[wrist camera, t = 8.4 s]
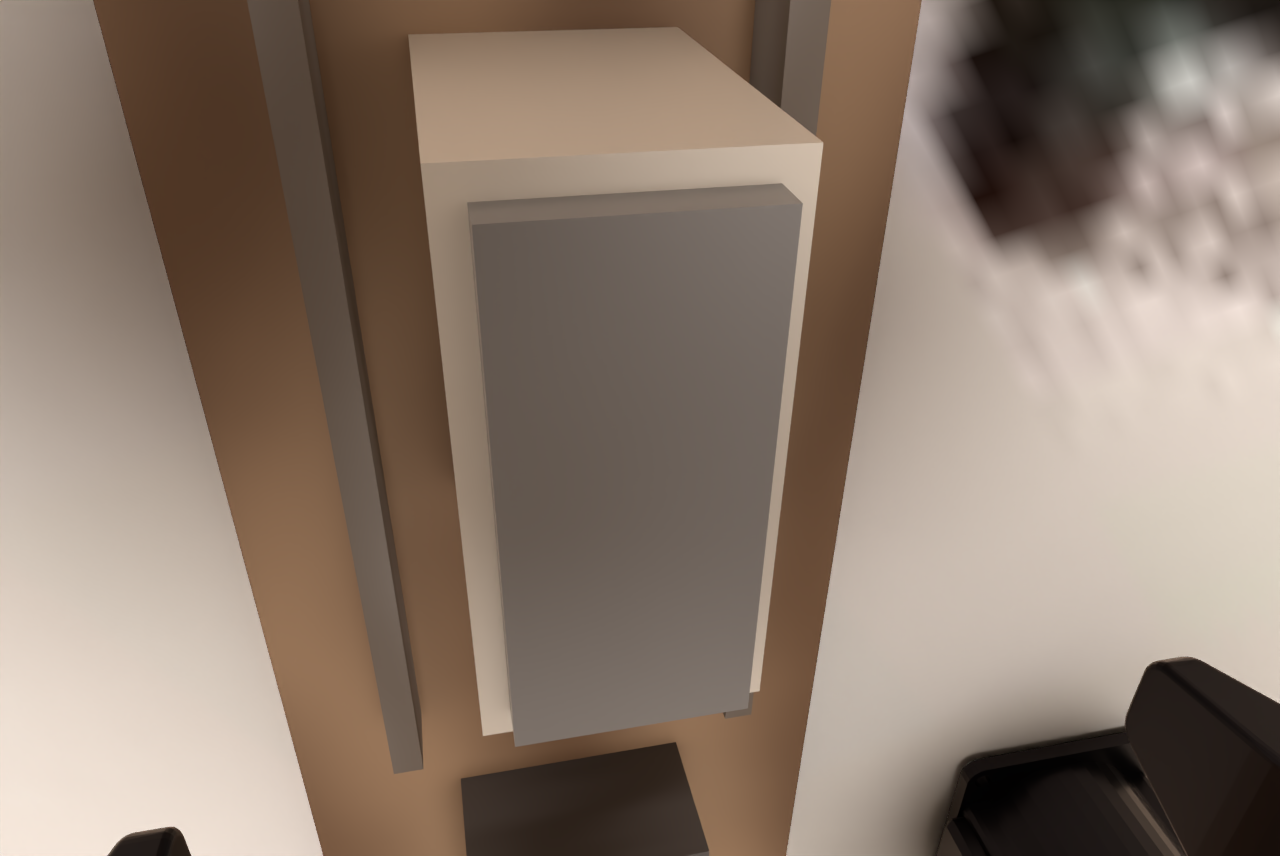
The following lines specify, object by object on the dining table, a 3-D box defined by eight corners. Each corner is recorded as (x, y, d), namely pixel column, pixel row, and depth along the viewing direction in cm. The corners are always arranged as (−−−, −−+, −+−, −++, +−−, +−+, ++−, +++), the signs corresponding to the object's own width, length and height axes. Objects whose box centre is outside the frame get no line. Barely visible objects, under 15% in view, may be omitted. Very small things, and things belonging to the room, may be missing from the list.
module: (677, 27, 15) (847, 160, 9) (662, 460, 19) (772, 723, 14) (408, 34, 14) (422, 184, 9) (456, 484, 18) (486, 771, 13)
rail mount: (967, -567, 13) (1183, -702, 9) (768, 838, 29) (821, 978, 26) (-53, -665, 10) (-270, -891, 7) (352, 919, 27) (348, 1084, 23)
